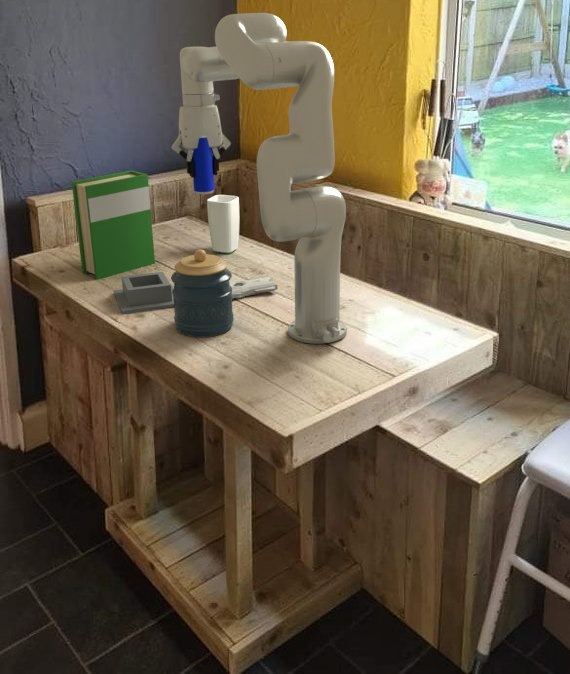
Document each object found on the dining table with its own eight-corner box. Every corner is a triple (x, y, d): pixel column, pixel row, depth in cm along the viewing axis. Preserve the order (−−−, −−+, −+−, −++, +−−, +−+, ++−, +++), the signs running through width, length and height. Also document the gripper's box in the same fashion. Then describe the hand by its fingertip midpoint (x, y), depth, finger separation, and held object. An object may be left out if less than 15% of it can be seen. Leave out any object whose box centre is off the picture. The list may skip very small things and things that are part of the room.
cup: (242, 248, 233) (240, 196, 227) (230, 256, 227) (228, 203, 221) (220, 245, 236) (217, 194, 230) (207, 253, 230) (204, 200, 224)
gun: (265, 268, 207) (278, 281, 199) (266, 281, 209) (279, 295, 200) (194, 281, 203) (204, 295, 194) (196, 294, 204) (206, 309, 196)
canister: (168, 320, 187) (162, 244, 179) (224, 311, 191) (220, 237, 184) (183, 342, 175) (177, 262, 168) (241, 332, 180) (238, 254, 172)
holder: (182, 306, 194) (181, 286, 192) (122, 314, 190) (120, 294, 188) (170, 286, 206) (169, 268, 204) (113, 293, 202) (111, 274, 200)
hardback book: (97, 279, 212) (86, 186, 202) (82, 272, 217) (71, 181, 207) (155, 263, 222) (147, 174, 213) (139, 257, 227) (131, 170, 218)
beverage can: (218, 191, 211) (215, 131, 205) (206, 195, 207) (202, 134, 201) (202, 189, 213) (198, 129, 208) (190, 193, 210) (185, 132, 204)
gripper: (228, 96, 207) (232, 169, 214) (160, 101, 202) (166, 175, 209) (236, 100, 201) (240, 175, 208) (166, 104, 196) (172, 181, 203)
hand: (203, 174), depth 208 cm, fingers closed on beverage can, 5 cm apart
